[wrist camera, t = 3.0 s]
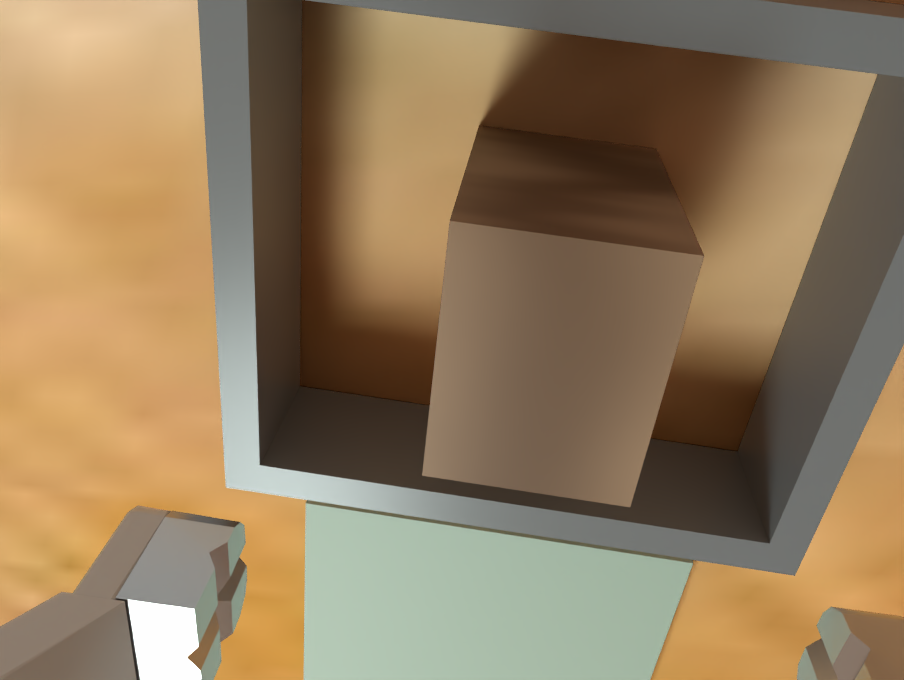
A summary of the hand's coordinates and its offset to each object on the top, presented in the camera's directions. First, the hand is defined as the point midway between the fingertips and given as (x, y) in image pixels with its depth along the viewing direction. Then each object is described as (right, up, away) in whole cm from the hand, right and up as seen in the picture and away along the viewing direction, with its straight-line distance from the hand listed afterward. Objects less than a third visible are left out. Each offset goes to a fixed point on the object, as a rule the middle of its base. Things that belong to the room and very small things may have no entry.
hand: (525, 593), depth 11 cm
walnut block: (+2, +6, +11) cm, 12 cm away
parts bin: (+2, +6, +11) cm, 12 cm away
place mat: (0, -8, +19) cm, 20 cm away
